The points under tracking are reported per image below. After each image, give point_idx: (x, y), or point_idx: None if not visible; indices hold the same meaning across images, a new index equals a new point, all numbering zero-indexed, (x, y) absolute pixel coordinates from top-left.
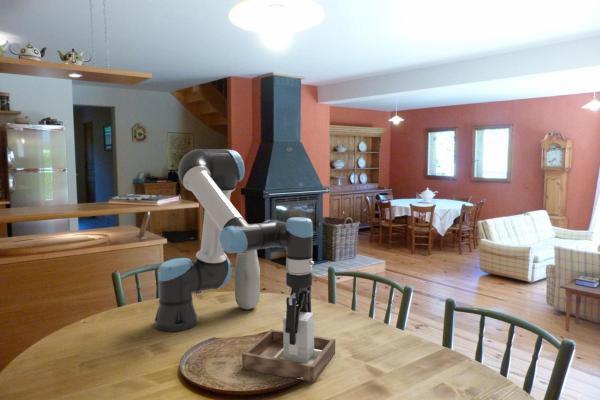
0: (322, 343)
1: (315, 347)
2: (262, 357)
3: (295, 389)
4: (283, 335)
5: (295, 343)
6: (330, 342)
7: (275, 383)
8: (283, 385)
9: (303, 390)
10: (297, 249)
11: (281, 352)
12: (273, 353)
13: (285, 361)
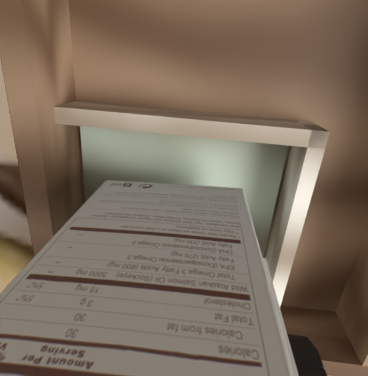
0: (364, 311)
1: (363, 261)
2: (3, 70)
3: (8, 242)
4: (16, 276)
5: None
6: (329, 367)
7: (5, 162)
8: (8, 196)
9: (16, 266)
10: None
11: (199, 136)
12: (275, 48)
13: (31, 220)
